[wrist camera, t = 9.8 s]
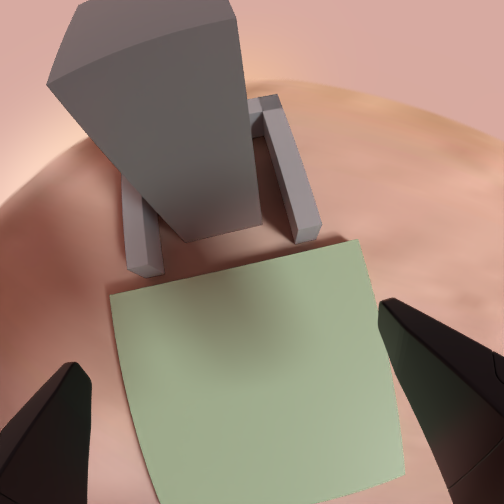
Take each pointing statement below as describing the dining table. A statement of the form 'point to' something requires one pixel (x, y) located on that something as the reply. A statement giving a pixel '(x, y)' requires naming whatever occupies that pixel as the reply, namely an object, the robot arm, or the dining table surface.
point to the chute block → (166, 106)
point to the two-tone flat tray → (258, 361)
